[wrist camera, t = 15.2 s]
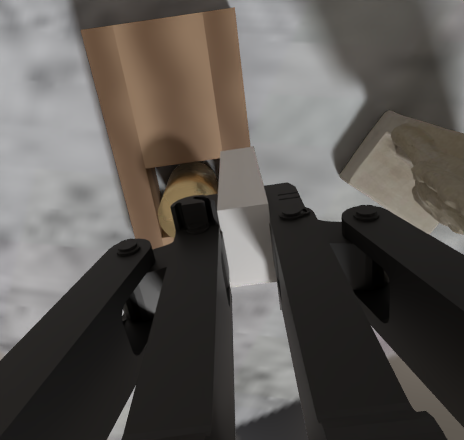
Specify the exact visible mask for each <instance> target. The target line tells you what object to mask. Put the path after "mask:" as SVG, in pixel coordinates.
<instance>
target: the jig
mask: <svg viewBox="0 0 464 440" xmlns="http://www.w3.org/2000/svg"><path fill="white" fill-rule="evenodd" d="M81 34H82V37H83V41H84V45H85V49H86V53H87V56H88V60H89V64H90V68H91V72H92V75H93V79H94V83H95V87H96V91H97V94H98V98H99V102H100V106H101V110H102V113H103V117H104V121H105V125H106V129H107V132H108V136H109V140H110V144H111V148H112V151H113V155H114V159H115V163H116V167H117V170H118V174H119V178H120V182H121V186H122V189H123V193H124V197H125V201H126V205H127V208H128V212H129V216H130V220H131V224H132V227H133V231H134V235H135V239H138V238H139V239H146V240H148V241H150V243H151V246H152V249H155V248H159V247H162V246H165V245H168V244H170V243H172V242H173V241H174V238H172V237H170V236H169V235H168V234H167V233H166V232H165V231H164V230H163V228H162V227H161V225H160V222H159V219H158V209H159V206H160V203H161V200H162V198H161V194H160V189H159V185H158V180H157V176H156V171H155V167H161V166H168V165H175V164H182V163H189V162H196V161H203V160H211V159H218V158H220V151H227V150H234V149H240V148H247V147H250V139H249V130H248V121H247V112H246V104H245V95H244V86H243V77H242V68H241V59H240V51H239V42H238V33H237V24H236V15H235V7H234V8H227V9H220V10H214V11H207V12H200V13H193V14H186V15H179V16H173V17H166V18H159V19H152V20H145V21H138V22H132V23H125V24H118V25H111V26H104V27H97V28H91V29H84V30H81Z"/></svg>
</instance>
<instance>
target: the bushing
mask: <svg viewBox="0 0 464 440" xmlns="http://www.w3.org/2000/svg"><path fill="white" fill-rule="evenodd" d="M212 194H218V182H217V178H216V175H215V173H214V172H213V171H212V169H211V168H209V167H208V166H207V165H205V164H203V163H201V162H189V163H182V164H180V165H179V166H177V167H176V168H175V169H174V170H173V172H172V173H171V175H170V178H169V181H168V183H167V186H166V189H165V192H164V194H163V197H162V200H161V203H160V206H159V209H158V219H159V222H160V225H161V227H162V228H163V230H164V231H165V232H166V233H167V234H168V235H169V236H170V237H172V238H174V237H175V234H176V230H175V225H174V221H173V217H172V213H171V208H170V206H171V205H172V204H173V203H174V202H176V201H177V200H180V199H182V198H185V197H189V196H194V195H212Z"/></svg>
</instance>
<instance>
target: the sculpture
mask: <svg viewBox="0 0 464 440" xmlns="http://www.w3.org/2000/svg"><path fill="white" fill-rule="evenodd" d="M339 176H340V178H341V179H342V180H344V181H345V182H347V183H348V184H350V185H351V186H353V187H354V188H356V189H357V190H359V191H360V192H362V193H363V194H365V195H366V196H368V197H369V198H371V199H372V200H374V201H375V202H377V203H378V204H380V205H381V206H383V207H384V208H386V209H387V210H389V211H390V212H392V213H393V214H395V215H397V216H398V217H400V218H402V219H403V220H405V221H407V222H409V223H410V224H412V225H414V226H415V227H417V228H419V229H420V230H422V231H424V232H426V233H427V234H430V233H431V232H432V231H433V230H434V228H435V227H436V226H437V225H438V224H439V223H441V224H443V225H445V226H448V227H449V228H450V229H451V230H452V231H453V232H455V233H458V234H463V235H464V134H463V133H460V132H456V131H453V130H449V129H446V128H442V127H439V126H437V125H434V124H430V123H427V122H424V121H420V120H416V119H414V118H410V117H406V116H403V115H400V114H398V113H395V112H393V111H391V110H388V111H387V112H385V113H384V114H383V116H382V117H381V118H380V119H379V121H378V122H377V123H376V125H375V126H374V127H373V129H372V130H371V131H370V133H369V134H368V135H367V137H366V138H365V139H364V141H363V142H362V144H361V145H360V146H359V148H358V149H357V151H356V152H355V153H354V155H353V156H352V158H351V159H350V161H349V162H348V164H347V165H346V167H345V168H344V169H343V171H342V172H341V173H340V175H339Z"/></svg>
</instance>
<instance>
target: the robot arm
mask: <svg viewBox="0 0 464 440" xmlns="http://www.w3.org/2000/svg"><path fill="white" fill-rule="evenodd" d="M170 208H171V213H172V217H173V221H174V225H175V230H176V234H175V237H174V241H173V242H172V243H170V244H168V245H165V246H162V247H159V248H155V249H152V246H151V243H150V241H148V240H146V239H139V238H138V239H127V240H124V241H121V242H120V243H118V244H116V245H114V246H113V247H112V248H110V249H109V250H108V251H107V252H106V253H105V254H104V255H103V256H102V257H101V258H100V259H99V260H98V261H97V262H96V263H95V264H94V265H93V266H92V267H91V268H90V269H89V270H88V271H87V272H86V273H85V274H84V275H83V276H82V277H81V279H80V280H79V281H78V282H77V283H76V284H75V285H74V286H73V287H72V288H71V289H70V290H69V291H68V292H67V293H66V294H65V295H64V296H63V297H62V298H61V299H60V300H59V301H58V302H57V303H56V304H55V305H54V306H53V307H52V308H51V309H50V310H49V311H48V312H47V313H46V314H45V315H44V316H43V317H42V319H41V320H40V321H39V322H38V323H37V324H36V325H35V326H34V327H33V328H32V329H31V330H30V331H29V332H28V333H27V334H26V335H25V336H24V337H23V338H22V339H21V340H20V341H19V342H18V343H17V344H16V345H15V346H14V347H13V348H12V349H11V350H10V351H9V352H8V353H7V354H6V355H5V356H4V357H3V359H2V360H1V361H0V440H107V438H108V436H109V434H110V432H111V431H112V429H113V427H114V425H115V423H116V421H117V419H118V417H119V416H120V414H121V412H122V410H123V408H124V406H125V404H126V402H127V401H128V399H129V397H130V395H131V393H132V391H133V389H134V387H135V386H136V388H135V391H134V395H133V399H132V403H131V407H130V411H129V415H128V418H127V422H126V426H125V430H124V434H123V437H122V440H235V400H234V360H233V321H232V294H231V289H230V285H231V287H239V286H246V285H254V284H261V283H269V282H277V285H278V294H279V302H280V310H282V312H283V317H284V322H285V327H286V332H287V337H288V342H289V347H290V352H291V357H292V362H293V367H294V372H295V377H296V382H297V387H298V392H299V397H300V401H301V406H302V411H303V416H304V421H305V426H306V431H307V436H308V440H447V438H446V437H445V435H444V433H443V431H442V430H441V428H440V427H439V425H438V424H437V422H436V421H435V419H434V418H433V417H432V416H431V415H430V414H429V413H428V412H426V411H421V412H416V411H415V410H414V409H413V408H412V406H411V405H410V403H409V401H408V399H407V397H406V395H405V393H404V391H403V389H402V387H401V385H400V383H399V381H398V379H397V377H396V375H395V373H394V371H393V369H392V367H391V365H390V363H389V361H388V359H387V357H386V355H385V353H384V351H383V349H382V347H381V345H380V343H379V341H378V339H377V337H376V335H375V333H374V331H373V329H372V327H373V328H374V329H375V330H376V331H377V333H378V334H379V335H380V336H381V337H382V338H383V339H384V340H385V341H386V342H387V344H388V345H389V346H390V347H391V348H392V349H393V350H394V351H395V352H396V354H397V355H398V356H399V357H400V358H401V359H402V360H403V361H404V362H405V363H406V364H407V365H408V367H409V368H410V369H411V370H412V371H413V372H414V373H415V374H416V375H417V377H418V378H419V379H420V380H421V381H422V382H423V383H424V384H425V385H426V387H427V388H428V389H429V390H430V391H431V392H432V393H433V394H434V395H435V396H436V398H437V399H438V400H439V401H440V402H441V403H442V404H443V405H444V406H445V407H446V409H447V410H448V411H449V412H450V413H451V414H452V415H453V416H454V417H455V419H456V420H457V421H458V422H459V423H460V424H461V425H462V426H463V427H464V255H463V254H461V253H460V252H458V251H456V250H454V249H453V248H451V247H449V246H448V245H446V244H444V243H443V242H441V241H439V240H437V239H436V238H434V237H432V236H431V235H429V234H427V233H426V232H424V231H422V230H420V229H419V228H417V227H415V226H414V225H412V224H410V223H409V222H407V221H405V220H403V219H402V218H400V217H398V216H397V215H395V214H393V213H392V212H390V211H388V210H386V209H384V208H381V207H376V206H373V205H367V206H366V205H360V206H357V207H352V208H350V209H347V210H346V211H344V212H343V213H342V222H329V221H321V220H318V219H317V217H316V215H315V213H314V212H313V211H312V210H311V209H309V208H306V207H305V206H304V204H303V202H302V200H301V198H300V196H299V193H298V191H297V189H296V187H295V186H293V185H291V184H289V183H281V184H274V185H267V186H264V185H263V181H262V177H261V173H260V169H259V166H258V162H257V158H256V154H255V150H254V147H247V148H240V149H234V150H227V151H220V168H219V186H218V194H212V195H194V196H189V197H185V198H182V199H180V200H177V201H176V202H174V203H173V204H172V205H171V206H170ZM229 279H230V283H229ZM122 310H124V314H123V316H122ZM371 326H372V327H371Z"/></svg>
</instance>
